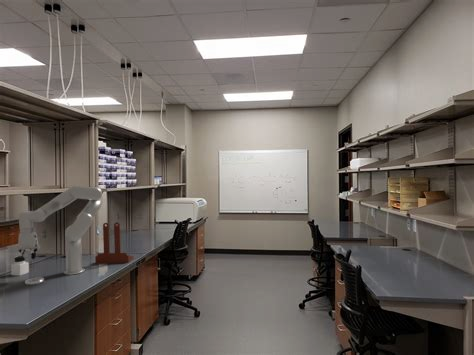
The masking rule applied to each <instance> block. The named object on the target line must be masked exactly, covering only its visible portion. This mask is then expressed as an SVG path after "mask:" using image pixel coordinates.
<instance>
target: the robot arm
mask: <svg viewBox="0 0 474 355" xmlns="http://www.w3.org/2000/svg"><path fill="white" fill-rule="evenodd" d="M77 199H79V200H80V199H81V200H89V201H88V202H87V203H86V206H84V208H83V209H82V210H81V212H80V213H79V214H77V216H76V219H75V220H74V222H73V223H72V224H70V225H69V226H68V227H67V228H66V229H65V233H64V236H65V261H66V262H65V264H66V265H65V266H66V267H65V268H66V270H64V271H63V274H64V275H67V276H68V275H69V276H70V275H71V276H72V275H77V274H82V273H84V272H85V270H86V269H85V268H84V267H83V266H84V263H83V253H82V252H83V251H82V250H83V249H82V246H83V245H82V238H83V236H84V234H85V233H86V232H87V230H88V229H89V228H90V227H91V225H92V224H93V222H94V218H95V216H96V215H97V213H98V212H99V211H100V209H101V207H102V205H103V191H102V189H101V188H99V187H98V186H97V187H96V186H85V185H77V184H75V185H74V184H73V185H72V186H70V187H69V188H67V189H65V191H63V192H61V193H60V194H58V195H57V196H55V197H54V198H52V199H50V201H48V202H47V203H45V204H44V205H42V206H41V207H39V208H37V209H36V210H24V211H20V212H19V213H18V221H19V222H18V224H19V233H18V240H17V241H18V244H17V246H16V248H15V250H17V251H18V252H19V253H20V254H21V256H22V258H23V260H25V258H24V257H23V254H24V251H27V250H28V249H30V250H32V254H31V255H32V259H34V260H35V259H36V256H37V255H36V254H37V253H36V252H37V251H38V250H39V249H40V248H41V247H42V246H41V245H40V243H39V241H38V234H37V233H36V230H37V228H35V227H34V223H41V222H43V221H45V220H46V218H48V217H49V216H50V215H52V214H53V213H55V212H57V211H59V210H61V209H63V208H66V206H69V205H70V204H71V203H73V202H74V201H76V200H77Z"/></svg>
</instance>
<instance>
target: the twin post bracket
mask: <svg viewBox="0 0 474 355" xmlns="http://www.w3.org/2000/svg"><path fill="white" fill-rule="evenodd" d="M113 234H114V235H113V239H114V242H113V243H114V252H110V251H111V250H110V224H109V223H108V222H104V223H103V225H102V237H103V239H102V240H103V253H102V252H101V253H97V254H96V255H95V256H94V258H95V259H94V261H95V264H96V265H97V264H98V265H99V264H104V265H105V264H124V263H125V264H128V263H130V262H131V261H132V260H134V259H135V258H134V257H135V256H133V255H132V256H131V255H130V254H127V252H121V225H120V223H119V222H118V221H117V222H115V223H114V224H113Z"/></svg>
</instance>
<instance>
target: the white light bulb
mask: <svg viewBox="0 0 474 355" xmlns="http://www.w3.org/2000/svg"><path fill="white" fill-rule="evenodd" d="M31 254H32V250H31V249H30V250H28V249H26V251H24V254H23V257H24V258H25V262H31V261H34V260H35V259H32V255H31Z"/></svg>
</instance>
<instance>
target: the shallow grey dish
mask: <svg viewBox="0 0 474 355" xmlns="http://www.w3.org/2000/svg"><path fill="white" fill-rule="evenodd" d="M44 282H45V278H44V277H40V276H39V277H32V278H28V279H26V280H25V281H24V285H25V286H33V285H39V284H41V283H44Z"/></svg>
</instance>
